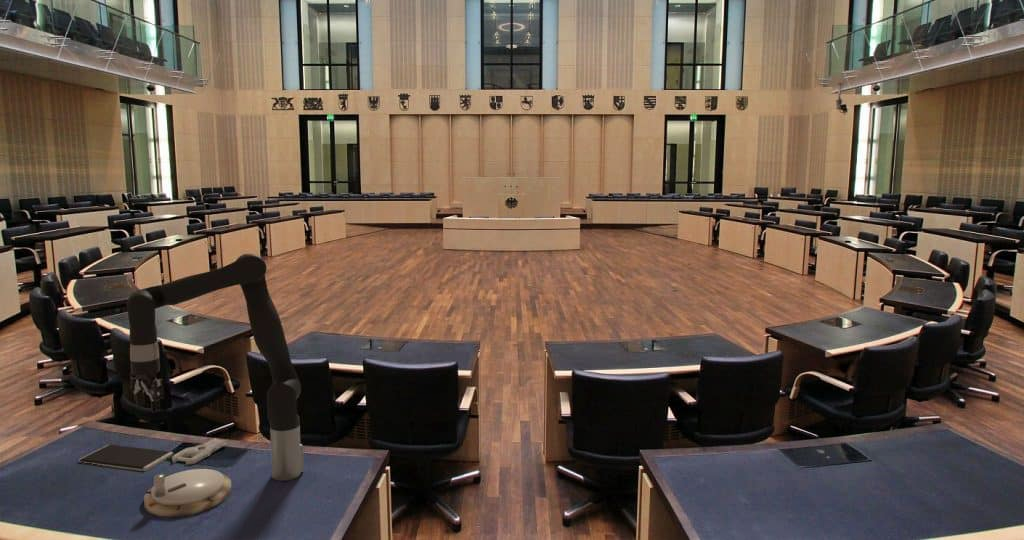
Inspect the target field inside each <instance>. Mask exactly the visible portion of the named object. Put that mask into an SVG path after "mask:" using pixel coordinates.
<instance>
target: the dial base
mask: <svg viewBox="0 0 1024 540" xmlns="http://www.w3.org/2000/svg"><path fill="white" fill-rule="evenodd" d="M222 474H223V473H222ZM223 476H224V486H223V488H222V489H221V490H220V491H219V492H218V493H216V494H215V495H213V496H211V497H209V498H207V499H205V500H202V501H199V502H195V503H191V504H186V505H178V506H169V505H162V504H159V503H156V502H155V501H153V499H152V495H151V490H152V487H150V488H149V489H148V490H146V491H145V494H144V497H143V502H144V505H143V506H144V510H146V511H147V512H148V513H149V514H151V515H155V516H159V517H173V518H174V517H182V516H189V515H193V514H197V513H201V512H204V511H207V510H209V509H211V508H214V507H215V506H217V505H219V504H221V503H223V502H224V501H225V500H226V499H228V497H229V496H230V494H231V492H232V480H231V478H230V477H229V476H227V475H226V474H223Z"/></svg>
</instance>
